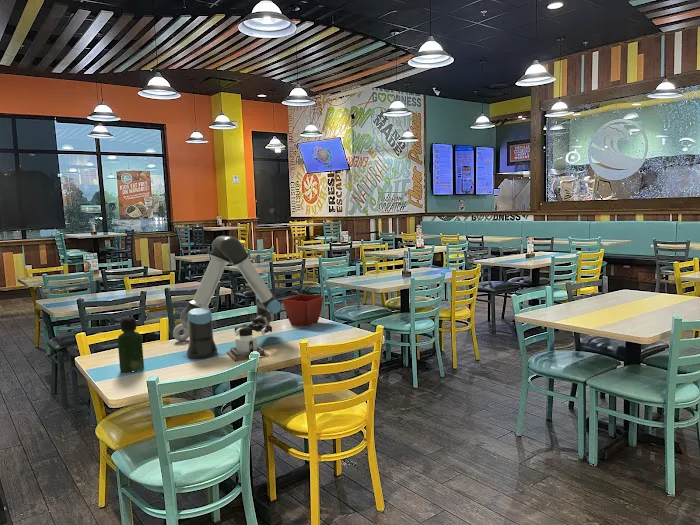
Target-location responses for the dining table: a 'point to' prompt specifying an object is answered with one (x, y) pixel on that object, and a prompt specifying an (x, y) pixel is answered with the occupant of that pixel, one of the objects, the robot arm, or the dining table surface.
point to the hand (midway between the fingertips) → (249, 333)
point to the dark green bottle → (130, 346)
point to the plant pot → (303, 309)
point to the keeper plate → (243, 354)
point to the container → (246, 341)
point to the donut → (180, 337)
